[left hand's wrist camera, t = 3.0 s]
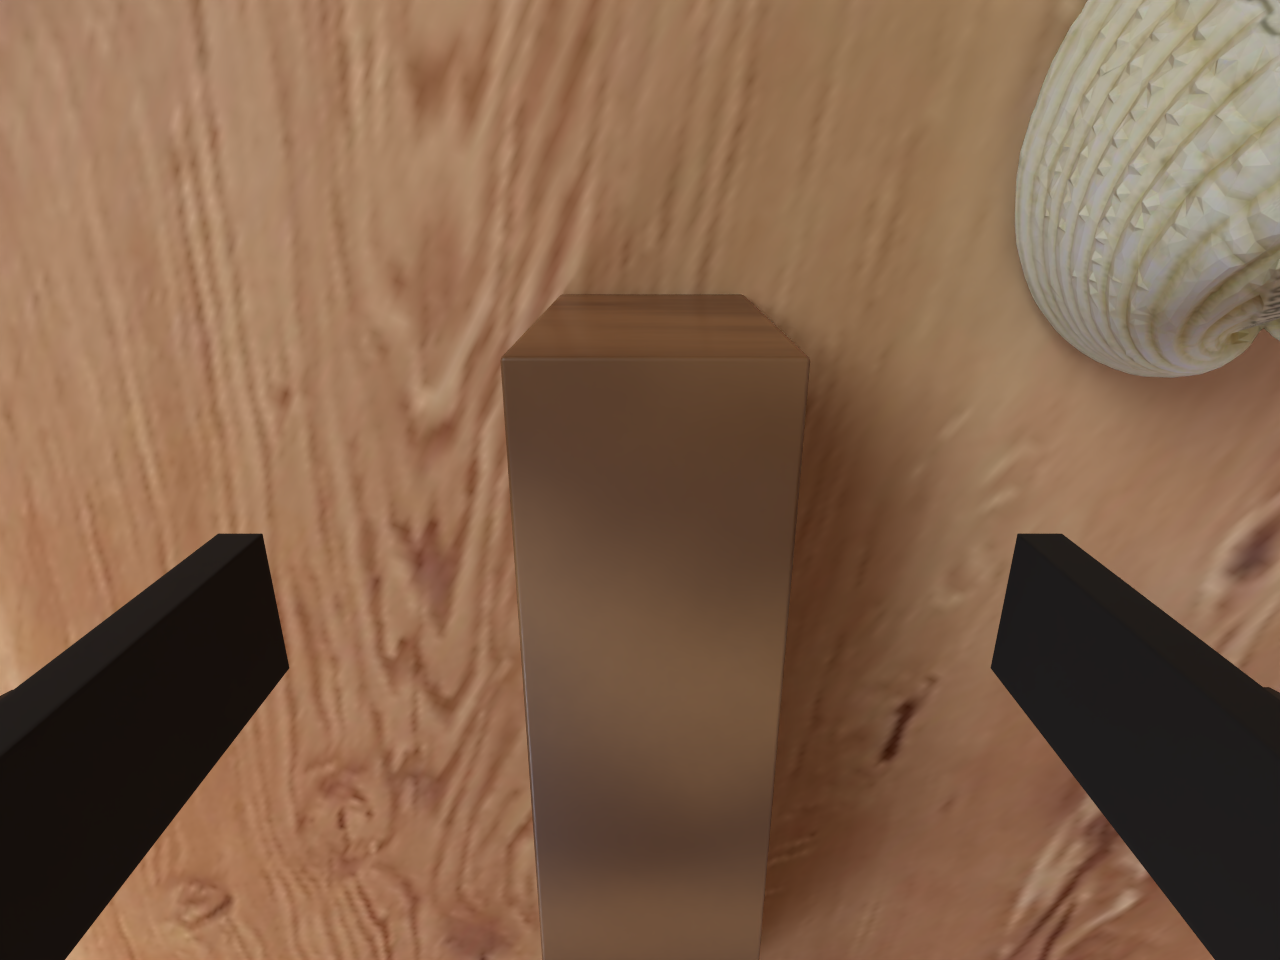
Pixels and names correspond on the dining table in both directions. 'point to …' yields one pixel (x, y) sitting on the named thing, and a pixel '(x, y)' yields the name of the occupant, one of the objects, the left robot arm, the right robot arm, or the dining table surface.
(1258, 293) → the seashell
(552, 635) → the bar
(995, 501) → the dining table surface
